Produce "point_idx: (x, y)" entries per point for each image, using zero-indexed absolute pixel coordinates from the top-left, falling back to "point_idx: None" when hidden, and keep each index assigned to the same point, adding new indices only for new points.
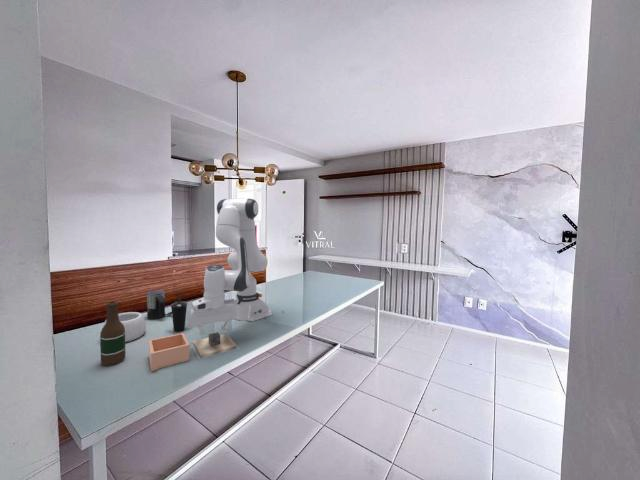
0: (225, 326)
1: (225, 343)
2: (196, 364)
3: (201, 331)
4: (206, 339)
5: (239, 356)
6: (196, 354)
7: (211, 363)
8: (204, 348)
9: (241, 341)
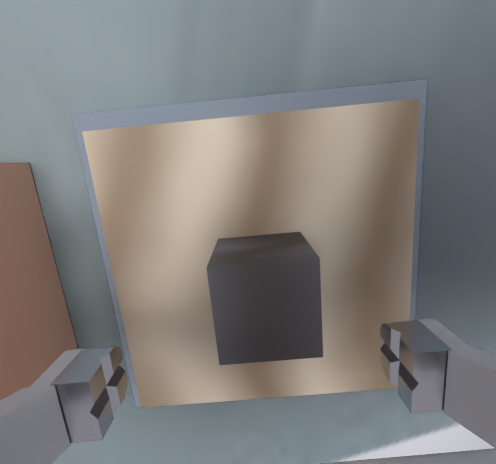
0: (449, 408)
1: (343, 315)
2: (126, 425)
3: (61, 438)
4: (207, 157)
5: (373, 450)
6: (123, 334)
7: (207, 450)
8: (174, 322)
9: (475, 266)
